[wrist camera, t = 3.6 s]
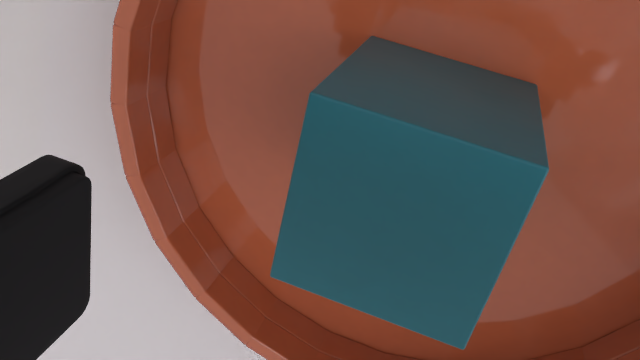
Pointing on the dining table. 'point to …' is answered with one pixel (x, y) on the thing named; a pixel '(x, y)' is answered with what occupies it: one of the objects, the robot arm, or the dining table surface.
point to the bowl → (283, 138)
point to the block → (411, 187)
